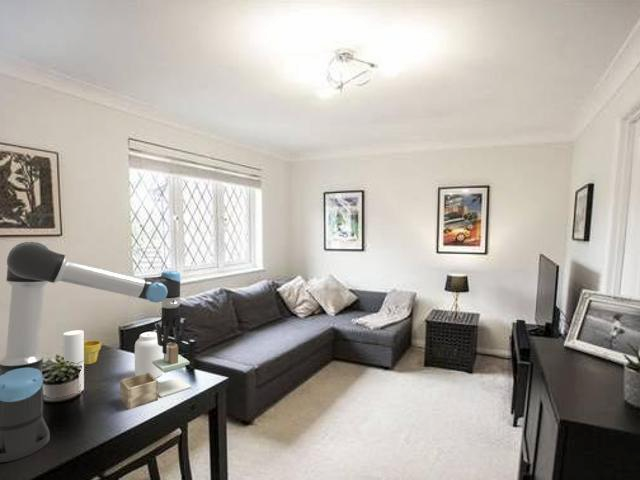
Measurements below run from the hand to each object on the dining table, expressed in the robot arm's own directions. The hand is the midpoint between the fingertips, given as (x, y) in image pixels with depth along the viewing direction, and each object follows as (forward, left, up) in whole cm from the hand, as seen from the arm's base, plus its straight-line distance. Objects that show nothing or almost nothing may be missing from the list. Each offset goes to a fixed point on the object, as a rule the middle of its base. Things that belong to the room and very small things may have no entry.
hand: (170, 359), depth 152 cm
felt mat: (0, 0, -13) cm, 13 cm away
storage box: (-14, -2, -13) cm, 19 cm away
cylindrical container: (-31, +25, -13) cm, 42 cm away
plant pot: (-19, +57, -13) cm, 62 cm away
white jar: (-2, +20, -13) cm, 24 cm away
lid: (0, 0, -4) cm, 4 cm away
